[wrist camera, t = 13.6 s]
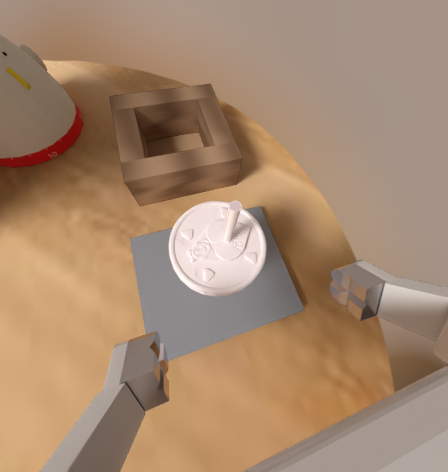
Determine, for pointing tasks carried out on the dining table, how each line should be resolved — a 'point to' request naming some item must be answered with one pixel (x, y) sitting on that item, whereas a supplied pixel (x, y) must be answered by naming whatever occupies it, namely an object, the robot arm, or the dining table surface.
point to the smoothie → (217, 248)
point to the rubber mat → (204, 306)
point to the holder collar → (172, 124)
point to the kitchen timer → (32, 109)
